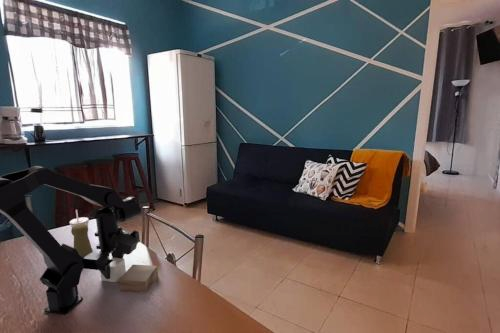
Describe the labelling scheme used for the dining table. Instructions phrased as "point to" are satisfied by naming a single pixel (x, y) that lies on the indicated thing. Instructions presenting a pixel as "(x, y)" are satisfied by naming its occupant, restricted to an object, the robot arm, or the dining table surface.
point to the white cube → (115, 270)
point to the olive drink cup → (81, 239)
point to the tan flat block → (138, 278)
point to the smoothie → (79, 221)
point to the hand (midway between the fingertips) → (113, 273)
